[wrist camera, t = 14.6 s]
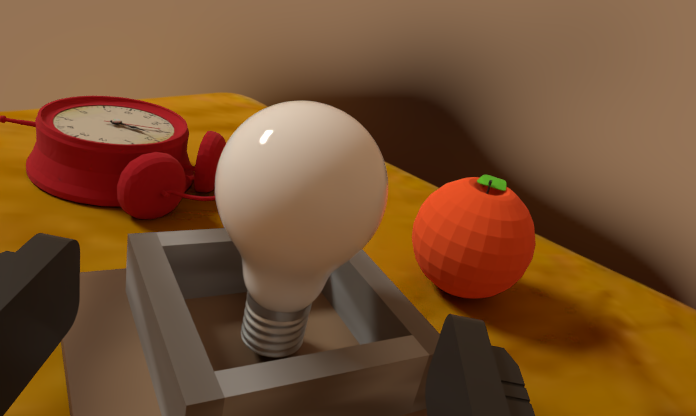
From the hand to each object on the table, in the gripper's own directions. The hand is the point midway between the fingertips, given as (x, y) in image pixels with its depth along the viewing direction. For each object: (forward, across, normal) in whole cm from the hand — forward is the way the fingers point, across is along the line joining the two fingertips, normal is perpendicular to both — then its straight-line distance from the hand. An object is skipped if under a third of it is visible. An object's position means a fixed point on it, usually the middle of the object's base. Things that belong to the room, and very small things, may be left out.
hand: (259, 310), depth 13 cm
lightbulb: (+10, 0, +9) cm, 13 cm away
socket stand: (+10, 0, +10) cm, 14 cm away
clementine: (+20, -10, +10) cm, 25 cm away
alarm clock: (+25, +12, +10) cm, 30 cm away
